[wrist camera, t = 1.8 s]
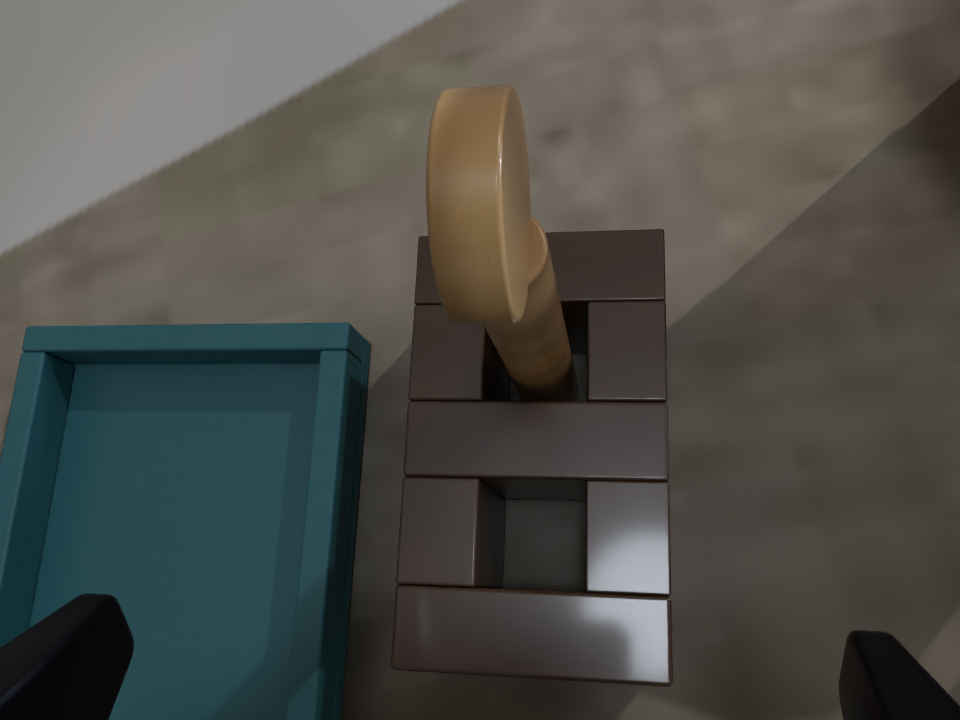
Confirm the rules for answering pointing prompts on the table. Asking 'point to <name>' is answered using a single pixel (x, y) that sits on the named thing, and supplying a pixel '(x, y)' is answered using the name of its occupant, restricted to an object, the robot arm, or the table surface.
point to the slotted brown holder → (541, 481)
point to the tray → (192, 506)
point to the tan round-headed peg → (495, 239)
